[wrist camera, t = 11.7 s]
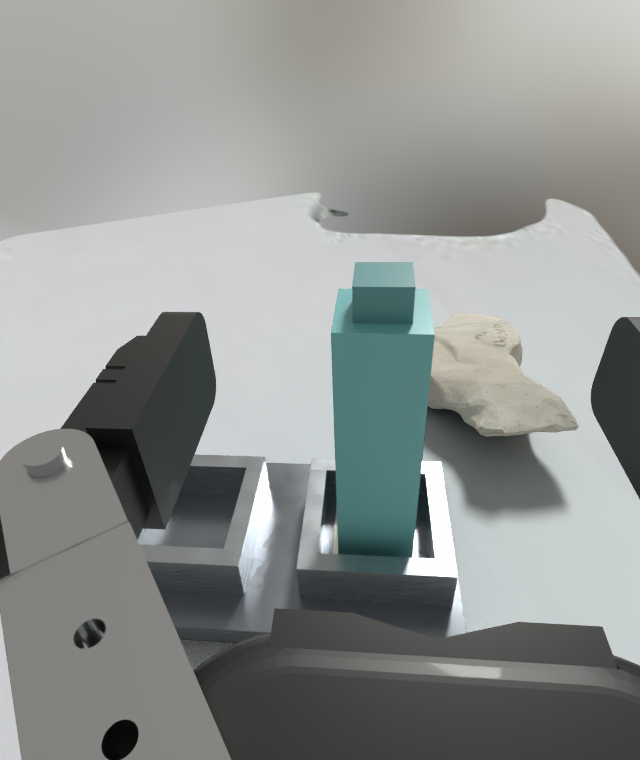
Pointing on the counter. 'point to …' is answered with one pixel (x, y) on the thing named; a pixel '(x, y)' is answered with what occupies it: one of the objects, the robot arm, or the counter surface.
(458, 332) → the rock
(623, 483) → the counter surface
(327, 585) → the panel
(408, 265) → the plug
